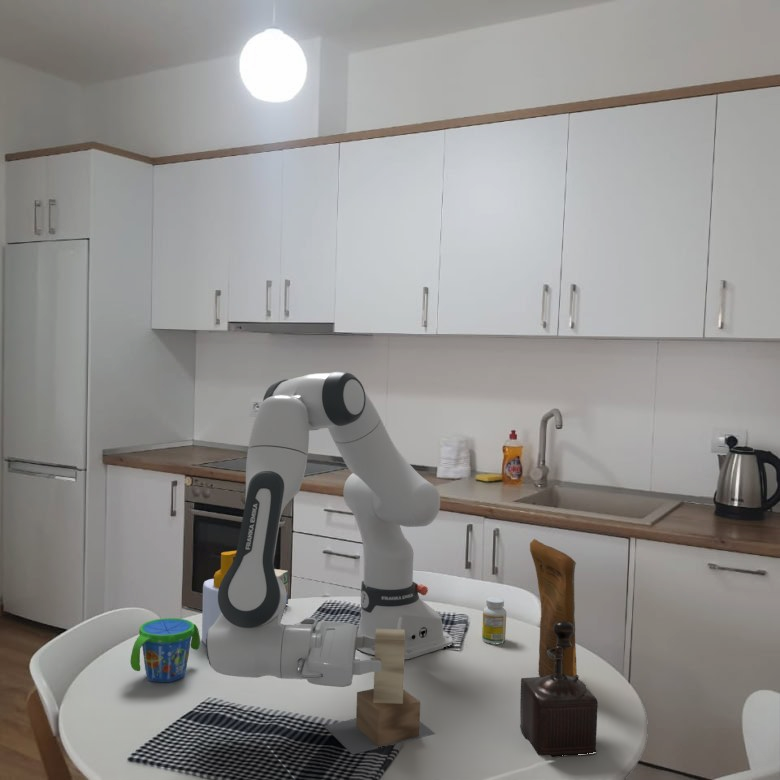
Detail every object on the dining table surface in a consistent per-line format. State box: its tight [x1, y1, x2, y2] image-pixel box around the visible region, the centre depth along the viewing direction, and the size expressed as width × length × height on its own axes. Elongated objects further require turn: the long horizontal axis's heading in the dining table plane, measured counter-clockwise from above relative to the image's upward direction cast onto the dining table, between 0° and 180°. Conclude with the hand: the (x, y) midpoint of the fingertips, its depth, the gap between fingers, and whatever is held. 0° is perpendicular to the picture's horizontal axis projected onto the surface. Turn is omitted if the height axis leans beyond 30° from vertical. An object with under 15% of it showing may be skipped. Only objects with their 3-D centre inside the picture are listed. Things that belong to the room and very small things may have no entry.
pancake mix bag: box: [529, 538, 578, 677], centre depth 160 cm, size 7×19×28 cm, turn 8°
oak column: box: [373, 629, 405, 704], centre depth 136 cm, size 5×5×11 cm
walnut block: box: [355, 688, 421, 746], centre depth 137 cm, size 8×8×6 cm
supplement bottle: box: [481, 596, 507, 645], centre depth 183 cm, size 5×5×10 cm
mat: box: [323, 718, 436, 756], centre depth 137 cm, size 16×11×1 cm
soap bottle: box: [201, 550, 237, 646], centre depth 176 cm, size 13×8×20 cm, turn 49°
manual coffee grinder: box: [519, 621, 598, 758], centre depth 138 cm, size 16×11×18 cm
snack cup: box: [130, 617, 201, 683], centre depth 158 cm, size 16×10×10 cm
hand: (381, 654), depth 136 cm, fingers open, 8 cm apart
